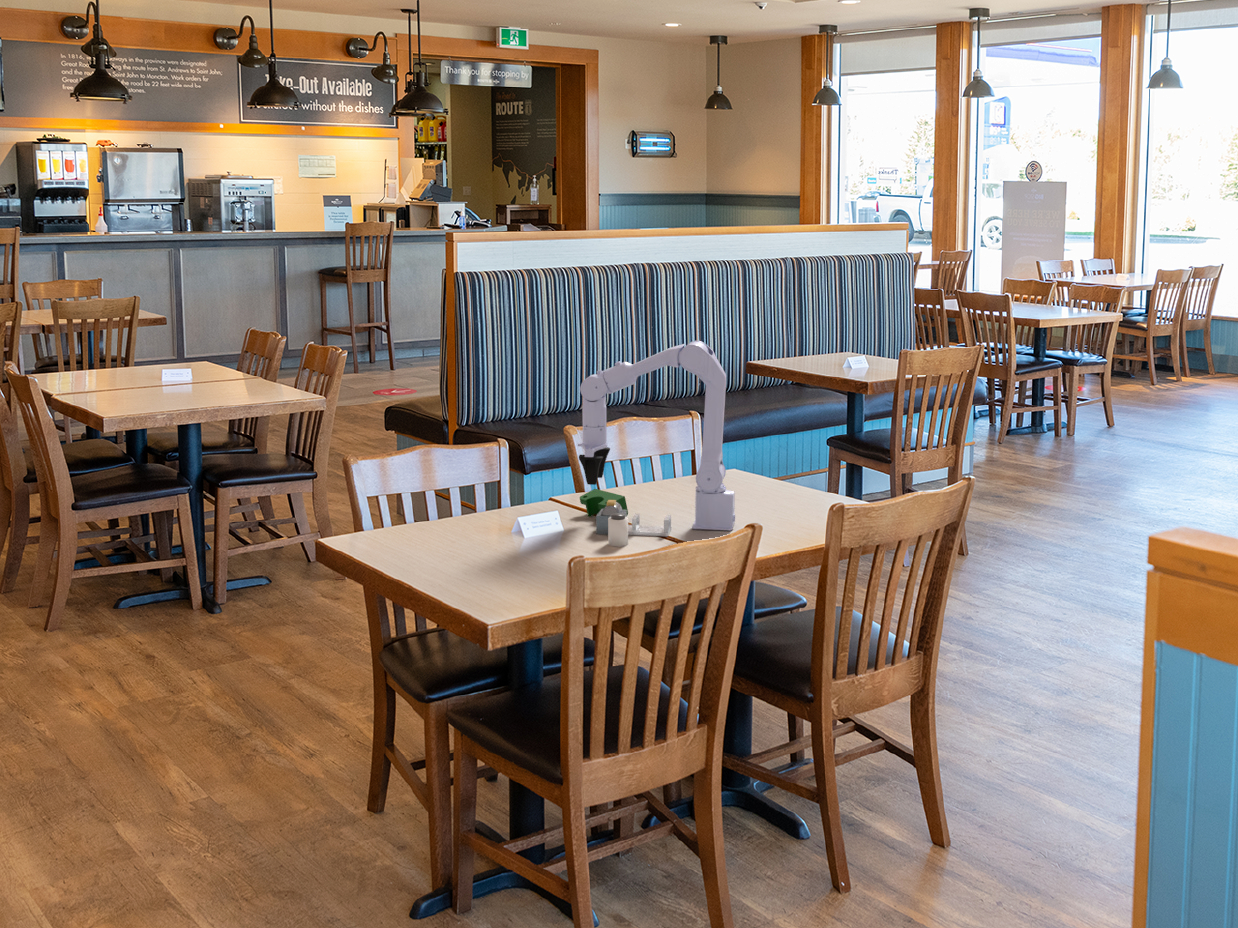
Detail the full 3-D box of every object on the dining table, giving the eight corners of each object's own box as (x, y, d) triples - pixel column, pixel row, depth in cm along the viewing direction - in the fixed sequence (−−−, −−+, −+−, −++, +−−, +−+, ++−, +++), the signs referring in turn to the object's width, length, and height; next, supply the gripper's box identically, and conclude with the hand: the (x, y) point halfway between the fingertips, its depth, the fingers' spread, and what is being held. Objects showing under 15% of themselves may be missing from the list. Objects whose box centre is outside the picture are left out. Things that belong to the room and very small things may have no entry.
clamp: (589, 532, 305) (573, 499, 305) (606, 522, 309) (591, 490, 308) (615, 523, 295) (598, 489, 295) (633, 513, 299) (616, 479, 298)
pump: (629, 541, 280) (629, 512, 278) (626, 547, 275) (626, 517, 274) (610, 540, 280) (610, 512, 279) (606, 546, 276) (606, 516, 275)
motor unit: (671, 529, 290) (671, 499, 289) (667, 537, 283) (667, 506, 282) (601, 526, 293) (601, 497, 292) (596, 534, 286) (596, 504, 285)
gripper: (584, 419, 301) (584, 473, 303) (571, 430, 287) (572, 486, 289) (612, 420, 299) (612, 474, 302) (601, 430, 285) (601, 487, 288)
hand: (594, 480), depth 296 cm, fingers open, 7 cm apart
